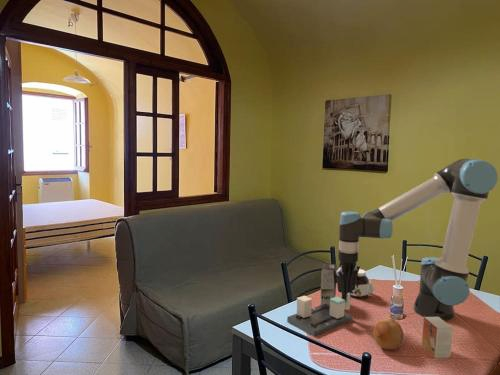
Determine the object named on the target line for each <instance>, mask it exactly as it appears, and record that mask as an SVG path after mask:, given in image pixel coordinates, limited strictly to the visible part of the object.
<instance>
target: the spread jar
mask: <svg viewBox="0 0 500 375" xmlns="http://www.w3.org/2000/svg"><path fill="white" fill-rule="evenodd" d="M352 287H353V286H352ZM352 291H353V294H352V293H351V298H356V299H363V298H365V297H366V296H367V295H368V294H371V295H372V294H373V293H375V291H376V287H375V285H374V283H373V282H372V281H371V280H370V279H369V278H368V276H367V272H366V270H365V269H362V268H360V269H359V271H358V276H357V281H356V286H355V290H352Z"/></svg>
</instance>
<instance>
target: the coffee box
mask: <svg viewBox="0 0 500 375" xmlns="http://www.w3.org/2000/svg"><path fill="white" fill-rule="evenodd" d="M335 270H338V268H337V264H335V263H321V274H320V275H321V277H320V305H323V304H328V305H330V299H331V298H334V297H337V296H336V292H337V291H336V290H337V278H336V274H335Z"/></svg>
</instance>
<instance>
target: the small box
mask: <svg viewBox="0 0 500 375" xmlns="http://www.w3.org/2000/svg"><path fill="white" fill-rule="evenodd" d="M453 331H454V330H453V326H451V325H450V324H449V323H447V322H446V320H442V319H441V318H440V317H424V316H423V326H422V337H421V346H422V348H424V349H425V350H426V351H427V352H428V353H429V354H430V355H431V356H432V357H433V358H434V359H442V358H443V359H444V358H446V359H447V358H449V359H450V358H451V356H452V354H451V352H452V341H453Z"/></svg>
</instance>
